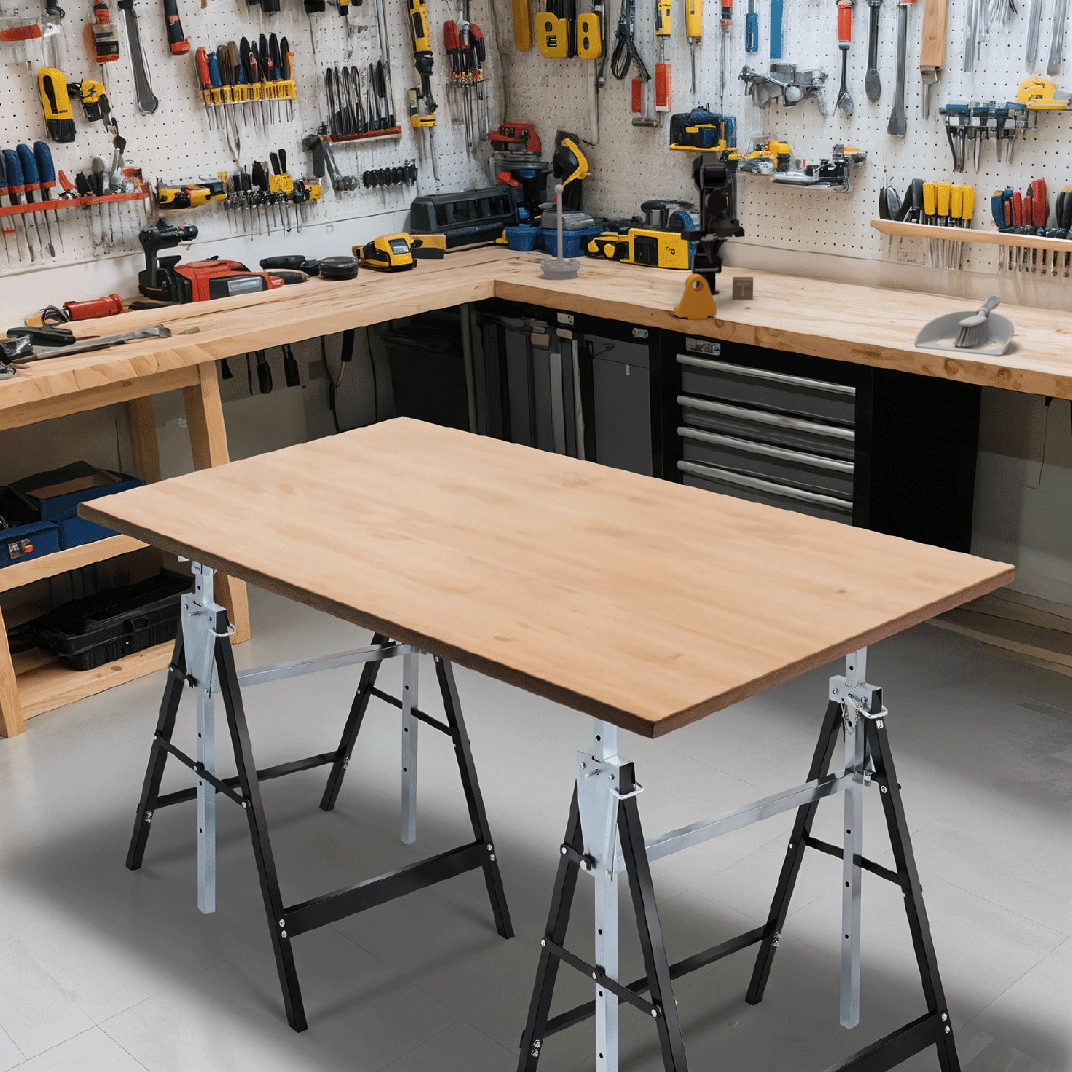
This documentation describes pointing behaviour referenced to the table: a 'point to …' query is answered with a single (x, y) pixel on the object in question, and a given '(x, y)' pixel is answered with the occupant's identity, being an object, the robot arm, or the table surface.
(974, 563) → the table surface
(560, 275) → the flag stand
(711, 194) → the robot arm
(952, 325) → the dustpan and brush
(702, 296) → the bracket
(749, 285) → the letter block
